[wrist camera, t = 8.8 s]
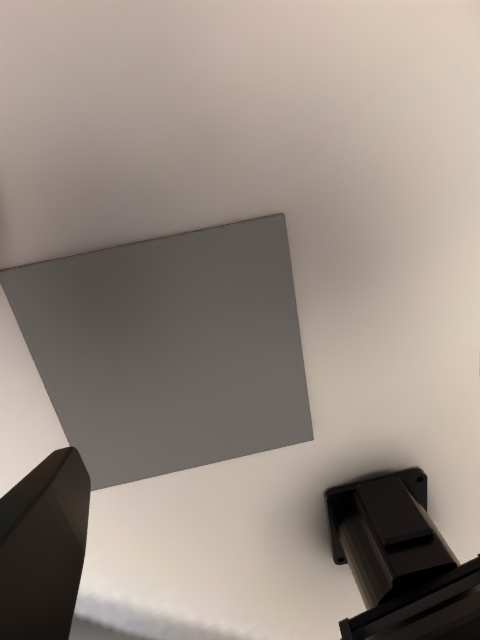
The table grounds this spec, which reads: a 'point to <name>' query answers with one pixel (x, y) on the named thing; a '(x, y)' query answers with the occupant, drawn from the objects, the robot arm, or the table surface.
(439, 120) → the table surface
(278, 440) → the mat
